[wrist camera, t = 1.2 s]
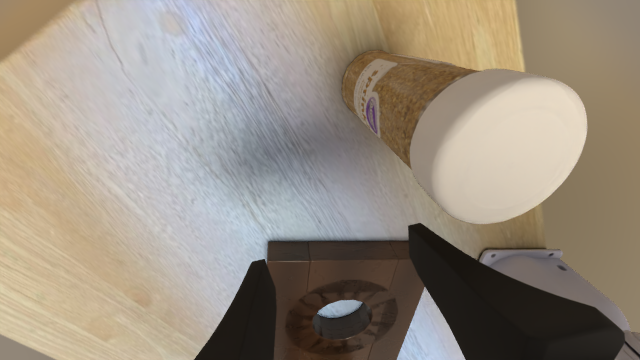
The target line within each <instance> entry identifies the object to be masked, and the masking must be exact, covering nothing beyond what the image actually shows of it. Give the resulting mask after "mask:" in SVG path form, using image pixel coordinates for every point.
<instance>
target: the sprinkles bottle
mask: <svg viewBox="0 0 640 360" xmlns="http://www.w3.org/2000/svg"><path fill="white" fill-rule="evenodd" d="M342 96H343V99H344V101H345V103H346V105H347V106H348V108H349V109H350V110H351V111H352V112H353V113H354V114H356V115H358V116H359V118H360V119H361V121H362V122H363V123H364V124H365V125H366V126H367V127H368V128H369V129H370V130H371V131H372V132H373V133H374V134H375V135H376V136H377V137H378V138H379V139H381V140H382V141H383V142H385V143H386V145H387V146H388V147H389V148H390V149H391V150H392V151H393V152H394V153H395V154H396V155H397V156H399V158H400V159H401V160H402V161H403V162H404V163H406V164H407V166H408V167H409V168H410V169H411V170H412V172H413V174H414V177H415V179H416V181H417V182H418V184H419V185H420V186H421V187H422V188H423V189H424V191H425V192H426V193H427V194H428V195H429V196H430V197H431V198H432V199H433V200H434V201H435V202H436V203H437V204H438V205H439V206H440V207H441V208H442V209H443V210H444V211H445V212H446V213H448V214H449V215H450V216H452V217H454V218H456V219H458V220H461V221H464V222H468V223H474V224H491V223H498V222H502V221H506V220H509V219H512V218H514V217H517V216H519V215H521V214H523V213H525V212H527V211H529V210H531V209H532V208H534V207H535V206H537V205H538V204H540V203H541V202H542V201H544V200H545V199H546V198H548V197H549V196H550V195H551V194H552V193H553V192H554V191H555V190H556V189H557V188H558V187H559V186H560V185H561V184H562V183H563V182H564V180H565V179H566V178H567V177H568V175H569V174H570V173H571V171H572V170H573V168H574V166H575V165H576V163H577V161H578V159H579V157H580V155H581V152H582V150H583V147H584V144H585V139H586V134H587V116H586V111H585V107H584V105H583V103H582V101H581V99H580V98H579V96H578V95H577V93H576V92H575V91H574V90H572V89H571V88H570V87H569V86H567V85H565V84H564V83H562V82H560V81H558V80H555V79H552V78H549V77H544V76H539V75H536V74H531V73H525V72H519V71H513V70H507V69H487V70H483V71H476V70H471V69H465V68H462V67H457V66H455V65H453V64H450V63H446V62H441V61H436V60H430V59H424V58H418V57H413V56H406V55H400V54H393V55H391V54H390V53H387V52H384V51H381V50H378V51H375V50H374V51H368V52H365V53H363V54H361V55H360V56H358V57H357V58H356V59H355V60H354V61H353V62H352V63H351V64H350V65H349V67H348V68H347V70H346V72H345V74H344V78H343V83H342Z"/></svg>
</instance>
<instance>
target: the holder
mask: <svg viewBox="0 0 640 360" xmlns="http://www.w3.org/2000/svg"><path fill="white" fill-rule="evenodd" d="M267 267H268V269H269V272H270V274H271V277H272V280H273V282H274V285H275V287H276V304H277V312H276V330H275V346H274V360H396V359H397V357H398V354H399V352H400V349H401V347H402V344H403V341H404V339H405V336H406V334H407V331H408V329H409V326H410V323H411V321H412V318H413V316H414V313H415V310H416V308H417V305H418V303H419V300H420V298H421V295H422V292H423V290H424V287H425V285H424V284H423V282H422V281H421V279H420V277H419V276H418V274H417V272H416V270H415V267H414V265H413V263H412V261H411V259H410V256H409V241H308V242H268V253H267ZM340 300H357V301H361V302H364V303H363V304H362V306H361V307H360V308H359V309H358V310H357V311H355V312H354V313H352V314H351V315H348V316H345V317H341V318H333V319H329V318H325V317H321V316H319V315H317V312H318V311H319V310H320V309H322V308H323V307H325V306H326V305H328V304H330V303H333V302H336V301H340Z"/></svg>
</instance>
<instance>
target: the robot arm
mask: <svg viewBox="0 0 640 360" xmlns="http://www.w3.org/2000/svg"><path fill="white" fill-rule="evenodd" d="M408 231H409V256H410V259H411V261H412V263H413V265H414V267H415V270H416V272H417V274H418V276H419V277H420V279H421V281H422V282H423V284H424V285H425V287H426V289H427V290H428V292H429V294H430V295H431V297H432V298H433V300H434V302H435V303H436V305H437V306H438V308H439V310H440V311H441V313H442V314H443V316H444V318H445V320H446V321H447V323H448V325H449V327H450V329H451V331H452V333H453V335H454V337H455V339H456V341H457V343H458V345H459V347H460V349H461V351H462V353H463V355H464V357H465V359H466V360H640V333H637V332H631V331H630V327H629V324H628V322H627V320H626V318H625V316H624V314H623V313H622V312H621V310H620V309H619V308H618V306H617V305H616V304H615V303H614V302H612V301H611V300H610V299H609V298H608V297H606V296H605V295H604V294H603V293H601V292H600V291H599V290H598V289H597V288H595V287H594V286H593V285H592V284H590V283H589V282H588V281H587V280H585V279H584V278H583V277H582V276H580V275H579V274H578V273H577V272H575V271H574V270H573V269H572V268H570V267H569V266H568V265H567V264H565V263H564V262H563V261H562V260H560V258H561V256H562V254H563V252H562V251H561V250H559V249H520V250H486V251H484V252H483V254H482V256H481V258H480V260H479V261H477V260H476V259H474V258H472V257H471V256H469V255H467V254H465V253H464V252H462V251H461V250H459V249H458V248H456V247H454V246H453V245H451V244H450V243H448V242H447V241H445V240H444V239H443V238H441V237H440V236H438V235H437V234H435V233H434V232H433V231H431V230H430V229H428V228H427V227H425V226H424V225H423V224H421V223H418V224H414V225H409V226H408ZM276 312H277V304H276V287H275V285H274V282H273V280H272V277H271V274H270V272H269V269H268V267H267V264H266V261H265V259H262V260H258V261H254V262H252V263H251V265H250V267H249V269H248V271H247V273H246V276H245V278H244V280H243V282H242V284H241V286H240V288H239V290H238V292H237V294H236V296H235V298H234V300H233V301H232V303H231V305H230V307H229V309H228V310H227V312H226V314H225V315H224V317H223V319H222V320H221V322H220V324H219V325H218V327H217V328H216V330H215V331H214V333H213V334H212V336H211V337H210V339H209V340H208V342H207V343H206V344H205V346H204V347H203V348H202V350H201V351H200V352H199V354H198V355H197V356H196V358H195V359H194V360H274V346H275V330H276Z"/></svg>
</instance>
